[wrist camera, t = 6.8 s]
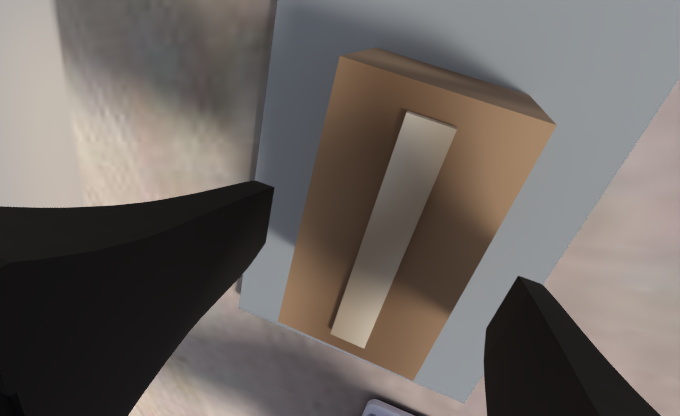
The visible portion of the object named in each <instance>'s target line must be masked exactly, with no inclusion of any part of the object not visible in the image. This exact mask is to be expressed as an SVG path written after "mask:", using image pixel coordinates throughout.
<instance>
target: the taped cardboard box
mask: <svg viewBox="0 0 680 416" xmlns="http://www.w3.org/2000/svg"><path fill="white" fill-rule="evenodd" d="M556 126H557V125H556V124H555V122H554V121H553V120H552V119H551V118H550V117H549V116H548V115H547V114H546V113H545V112H544V111H543V109H542V108H541V107H540V106H539V105H538V104H537V103H536V102H535V101H534V100H533V99H532V97H531V96H530V95H527V94H524V93H521V92H518V91H515V90H511V89H508V88H505V87H502V86H498V85H495V84H492V83H489V82H486V81H482V80H479V79H476V78H473V77H469V76H466V75H463V74H460V73H456V72H453V71H450V70H447V69H444V68H440V67H437V66H434V65H431V64H427V63H424V62H421V61H418V60H415V59H411V58H408V57H405V56H402V55H398V54H395V53H392V52H389V51H386V50H382V49H379V48H371V49H367V50H363V51H359V52H355V53H350V54H346V55H342V56H340V57H339V61H338V66H337V70H336V74H335V79H334V83H333V87H332V91H331V96H330V100H329V104H328V109H327V113H326V117H325V121H324V126H323V130H322V134H321V138H320V143H319V147H318V151H317V156H316V160H315V164H314V168H313V173H312V177H311V181H310V185H309V190H308V194H307V198H306V203H305V207H304V211H303V215H302V220H301V224H300V228H299V232H298V237H297V241H296V245H295V250H294V254H293V258H292V262H291V267H290V271H289V275H288V280H287V284H286V288H285V292H284V297H283V301H282V305H281V309H280V314H279V318H278V322H280V323H282V324H284V325H287V326H289V327H291V328H293V329H296V330H298V331H300V332H303V333H305V334H307V335H309V336H312V337H314V338H316V339H319V340H321V341H323V342H325V343H328V344H330V345H332V346H334V347H337V348H339V349H341V350H344V351H346V352H348V353H350V354H353V355H355V356H357V357H360V358H362V359H364V360H366V361H369V362H371V363H373V364H375V365H378V366H380V367H382V368H385V369H387V370H389V371H391V372H394V373H396V374H398V375H401V376H403V377H405V378H407V379H410V380H412V381H413V380H414V379H415V377H416V375H417V373H418V372H419V370H420V368H421V366H422V364H423V363H424V361H425V359H426V357H427V356H428V354H429V352H430V350H431V348H432V347H433V345H434V343H435V341H436V340H437V338H438V336H439V334H440V332H441V331H442V329H443V327H444V325H445V323H446V322H447V320H448V318H449V316H450V315H451V313H452V311H453V309H454V307H455V306H456V304H457V302H458V300H459V299H460V297H461V295H462V293H463V291H464V290H465V288H466V286H467V284H468V283H469V281H470V279H471V277H472V275H473V274H474V272H475V270H476V268H477V266H478V265H479V263H480V261H481V259H482V258H483V256H484V254H485V252H486V250H487V249H488V247H489V245H490V243H491V242H492V240H493V238H494V236H495V234H496V233H497V231H498V229H499V227H500V226H501V224H502V222H503V220H504V218H505V217H506V215H507V213H508V211H509V209H510V208H511V206H512V204H513V202H514V201H515V199H516V197H517V195H518V193H519V192H520V190H521V188H522V186H523V185H524V183H525V181H526V179H527V177H528V176H529V174H530V172H531V170H532V169H533V167H534V165H535V163H536V161H537V160H538V158H539V156H540V154H541V152H542V151H543V149H544V147H545V145H546V144H547V142H548V140H549V138H550V136H551V135H552V133H553V131H554V129H555V128H556Z"/></svg>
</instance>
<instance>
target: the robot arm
mask: <svg viewBox="0 0 680 416" xmlns="http://www.w3.org/2000/svg"><path fill="white" fill-rule="evenodd" d="M274 188H275V187H272V186H270V185H267V184H264V183H261V182H259V181H250V182H244V183H239V184H235V185H230V186H226V187H222V188H217V189H213V190H209V191H204V192H200V193H195V194H190V195H185V196H179V197H174V198H169V199H163V200H157V201H151V202H143V203H134V204H125V205H114V206H96V207H74V208H26V207H23V208H22V207H0V416H128V415H129V413H130V412H131V410H132V409H133V407H134V406H135V404H136V403H137V402H138V400H139V399H140V397H141V396H142V394H143V393H144V391H145V390H146V389H147V387H148V386H149V385H150V383H151V382H152V380H153V379H154V378H155V376H156V375H157V374H158V372H159V371H160V369H161V368H162V367H163V365H164V364H165V363H166V361H167V360H168V359H169V357H170V356H171V355H172V353H173V352H174V351H175V349H176V348H177V347H178V345H179V344H180V343H181V342H182V340H183V339H184V338H185V336H186V335H187V334H188V332H189V331H190V330H191V329H192V328H193V326H194V325H195V324H196V323H197V322H198V321H199V320H200V318H201V317H202V316H203V315H204V314H205V313H206V312H207V311H208V310H209V309H210V308H211V307H212V306H213V305H214V304H215V303H216V302H217V300H218V299H219V298H220V297H221V296H222V295H223V294H224V293H225V292H226V291H227V290H228V289H229V288H230V287H231V286H232V285H233V284H234V283H235V281H236V280H237V279H238V278H239V277H240V276H241V275H242V274H243V273H244V272H245V271H246V270H247V268H248V267H249V266H250V265H251V263H252V262H253V261H254V259H255V258H256V256H257V255H258V253H259V252H260V251H261V249H262V248H263V246H264V245H265V243H266V238H267V232H268V226H269V219H270V213H271V207H272V201H273V194H274ZM484 377H485V392H486V405H487V416H661V415H660V414H658V413H657V412H656V411H655V410H654V409H653V408H652V407H651V406H650V405H649V404H648V403H647V402H646V401H645V400H644V399H643V398H642V397H641V396H640V395H639V394H638V393H637V392H636V391H635V390H634V389H633V388H632V387H631V386H630V385H629V383H628V382H627V381H626V380H625V379H624V378H623V377H622V376H621V375H620V374H619V373H618V372H617V370H616V369H615V368H614V367H613V366H612V365H611V364H610V363H609V362H608V361H607V359H606V358H605V357H604V356H603V355H602V354H601V353H600V352H599V350H598V349H597V348H596V347H595V346H594V345H593V343H592V342H591V341H590V340H589V339H588V338H587V336H586V335H585V334H584V333H583V332H582V330H581V329H580V328H579V327H578V326H577V324H576V323H575V322H574V321H573V320H572V318H571V317H570V316H569V315H568V313H567V312H566V311H565V310H564V309H563V307H562V306H561V305H560V304H559V303H558V301H557V300H556V299H555V298H554V297H553V296H552V294H551V293H550V292H549V291H548V290H547V289H546V288H545V287H544V286H543V285H542V284H540V283H537V282H535V281H532V280H529V279H526V278H524V277H521V276H518V277H517V278H516V280H515V281H514V283H513V285H512V286H511V288H510V290H509V291H508V293H507V295H506V296H505V298H504V300H503V301H502V303H501V305H500V306H499V308H498V310H497V311H496V313H495V315H494V316H493V318H492V320H491V321H490V323H489V325H488V326H487V328H486V335H485V346H484ZM362 416H414V415H412V414H410V413H407V412H405V411H403V410H401V409H398V408H396V407H394V406H391V405H389V404H387V403H385V402H382V401H380V400H377V399H371V400H369V401H368V403H367V405H366V407H365V410H364V412H363V414H362Z"/></svg>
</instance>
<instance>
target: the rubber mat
mask: <svg viewBox="0 0 680 416" xmlns="http://www.w3.org/2000/svg"><path fill="white" fill-rule="evenodd" d="M371 48H379V49H382V50H386V51H389V52H392V53H395V54H398V55H402V56H405V57H408V58H411V59H415V60H418V61H421V62H424V63H427V64H431V65H434V66H437V67H440V68H444V69H447V70H450V71H453V72H456V73H460V74H463V75H466V76H469V77H473V78H476V79H479V80H482V81H486V82H489V83H492V84H495V85H498V86H502V87H505V88H508V89H511V90H515V91H518V92H521V93H524V94H527V95H530V96H531V97H532V99H533V100H534V101H535V102H536V103H537V104H538V105H539V106H540V107H541V108H542V109H543V111H544V112H545V113H546V114H547V115H548V116H549V117H550V118H551V119H552V120H553V121H554V122H555V124H556V125H557V126H556V128H555V129H554V131H553V133H552V135H551V136H550V138H549V140H548V142H547V144H546V145H545V147H544V149H543V151H542V152H541V154H540V156H539V158H538V160H537V161H536V163H535V165H534V167H533V169H532V170H531V172H530V174H529V176H528V177H527V179H526V181H525V183H524V185H523V186H522V188H521V190H520V192H519V193H518V195H517V197H516V199H515V201H514V202H513V204H512V206H511V208H510V209H509V211H508V213H507V215H506V217H505V218H504V220H503V222H502V224H501V226H500V227H499V229H498V231H497V233H496V234H495V236H494V238H493V240H492V242H491V243H490V245H489V247H488V249H487V250H486V252H485V254H484V256H483V258H482V259H481V261H480V263H479V265H478V266H477V268H476V270H475V272H474V274H473V275H472V277H471V279H470V281H469V283H468V284H467V286H466V288H465V290H464V291H463V293H462V295H461V297H460V299H459V300H458V302H457V304H456V306H455V307H454V309H453V311H452V313H451V315H450V316H449V318H448V320H447V322H446V323H445V325H444V327H443V329H442V331H441V332H440V334H439V336H438V338H437V340H436V341H435V343H434V345H433V347H432V348H431V350H430V352H429V354H428V356H427V357H426V359H425V361H424V363H423V364H422V366H421V368H420V370H419V372H418V373H417V375H416V377H415V379H414V380H413V381H412V380H410V379H407V378H405V377H403V376H401V375H398V374H396V373H394V372H391V371H389V370H387V369H385V368H382V367H380V366H378V365H375V364H373V363H371V362H369V361H366V360H364V359H362V358H360V357H357V356H355V355H353V354H350V353H348V352H346V351H344V350H341V349H339V348H337V347H334V346H332V345H330V344H328V343H325V342H323V341H321V340H319V339H316V338H314V337H312V336H309V335H307V334H305V333H303V332H300V331H298V330H296V329H293V328H291V327H289V326H287V325H284V324H282V323H280V322H278V318H279V314H280V309H281V305H282V301H283V297H284V292H285V288H286V284H287V280H288V275H289V271H290V267H291V262H292V258H293V254H294V250H295V245H296V241H297V237H298V232H299V228H300V224H301V220H302V215H303V211H304V207H305V203H306V198H307V194H308V190H309V185H310V181H311V177H312V173H313V168H314V164H315V160H316V156H317V151H318V147H319V143H320V138H321V134H322V130H323V126H324V121H325V117H326V113H327V109H328V104H329V100H330V96H331V91H332V87H333V83H334V79H335V74H336V70H337V66H338V61H339V57H340V56H342V55H346V54H350V53H355V52H359V51H363V50H367V49H371ZM679 78H680V0H277V8H276V16H275V24H274V32H273V40H272V48H271V56H270V64H269V72H268V80H267V87H266V95H265V103H264V111H263V119H262V127H261V135H260V143H259V151H258V159H257V167H256V175H255V181H259V182H261V183H264V184H267V185H270V186H272V187H275V188H274V194H273V201H272V207H271V213H270V219H269V226H268V232H267V238H266V243H265V245H264V246H263V248H262V249H261V251H260V252H259V253H258V255H257V256H256V258H255V259H254V261H253V262H252V263H251V265H250V266H249V267H248V268H247V270H246V271H245V272H244V273H243V278H242V286H241V294H240V302H239V309H241V310H244V311H246V312H249V313H251V314H253V315H256V316H258V317H260V318H263V319H265V320H268V321H270V322H272V323H275V324H277V325H279V326H282V327H284V328H286V329H289V330H291V331H294V332H296V333H298V334H301V335H303V336H305V337H308V338H310V339H312V340H315V341H317V342H320V343H322V344H324V345H327V346H329V347H331V348H334V349H336V350H338V351H341V352H343V353H346V354H348V355H350V356H353V357H355V358H357V359H360V360H362V361H365V362H367V363H369V364H372V365H374V366H376V367H379V368H381V369H383V370H386V371H388V372H391V373H393V374H395V375H398V376H400V377H402V378H405V379H407V380H409V381H412V382H414V383H417V384H419V385H421V386H424V387H426V388H428V389H431V390H433V391H436V392H438V393H440V394H443V395H445V396H447V397H450V398H452V399H454V400H457V401H459V402H462V403H465V402H466V400H467V399H468V397H469V396H470V394H471V393H472V391H473V390H474V388H475V387H476V385H477V384H478V382H479V380H480V379H481V377H482V376H483V374H484V346H485V335H486V328H487V326H488V325H489V323H490V321H491V320H492V318H493V316H494V315H495V313H496V311H497V310H498V308H499V306H500V305H501V303H502V301H503V300H504V298H505V296H506V295H507V293H508V291H509V290H510V288H511V286H512V285H513V283H514V281H515V280H516V278H517V277H518V276H521V277H524V278H526V279H529V280H532V281H535V282H537V283H540V284H542V285H543V284H544V282H545V281H546V279H547V278H548V276H549V275H550V273H551V272H552V270H553V269H554V267H555V266H556V264H557V263H558V261H559V260H560V258H561V257H562V255H563V254H564V252H565V250H566V249H567V247H568V246H569V244H570V243H571V241H572V240H573V238H574V237H575V235H576V234H577V232H578V231H579V229H580V228H581V226H582V225H583V223H584V222H585V220H586V219H587V217H588V216H589V214H590V213H591V211H592V210H593V208H594V207H595V205H596V204H597V202H598V201H599V199H600V198H601V196H602V195H603V193H604V192H605V190H606V189H607V187H608V185H609V184H610V182H611V181H612V179H613V178H614V176H615V175H616V173H617V172H618V170H619V169H620V167H621V166H622V164H623V163H624V161H625V160H626V158H627V157H628V155H629V154H630V152H631V151H632V149H633V148H634V146H635V145H636V143H637V142H638V140H639V139H640V137H641V136H642V134H643V133H644V131H645V130H646V128H647V127H648V125H649V124H650V122H651V120H652V119H653V117H654V116H655V114H656V113H657V111H658V110H659V108H660V107H661V105H662V104H663V102H664V101H665V99H666V98H667V96H668V95H669V93H670V92H671V90H672V89H673V87H674V86H675V84H676V83H677V81H678V80H679Z"/></svg>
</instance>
